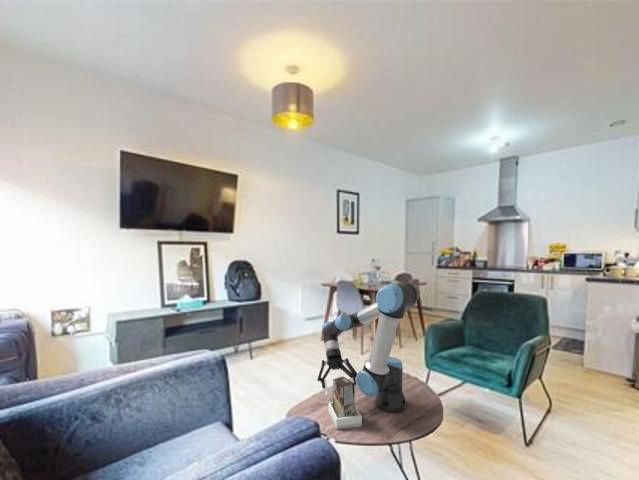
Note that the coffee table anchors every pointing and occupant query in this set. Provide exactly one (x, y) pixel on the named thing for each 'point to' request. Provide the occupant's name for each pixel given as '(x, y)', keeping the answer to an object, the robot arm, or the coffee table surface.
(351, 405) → the coffee box
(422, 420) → the coffee table surface
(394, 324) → the robot arm
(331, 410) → the box
